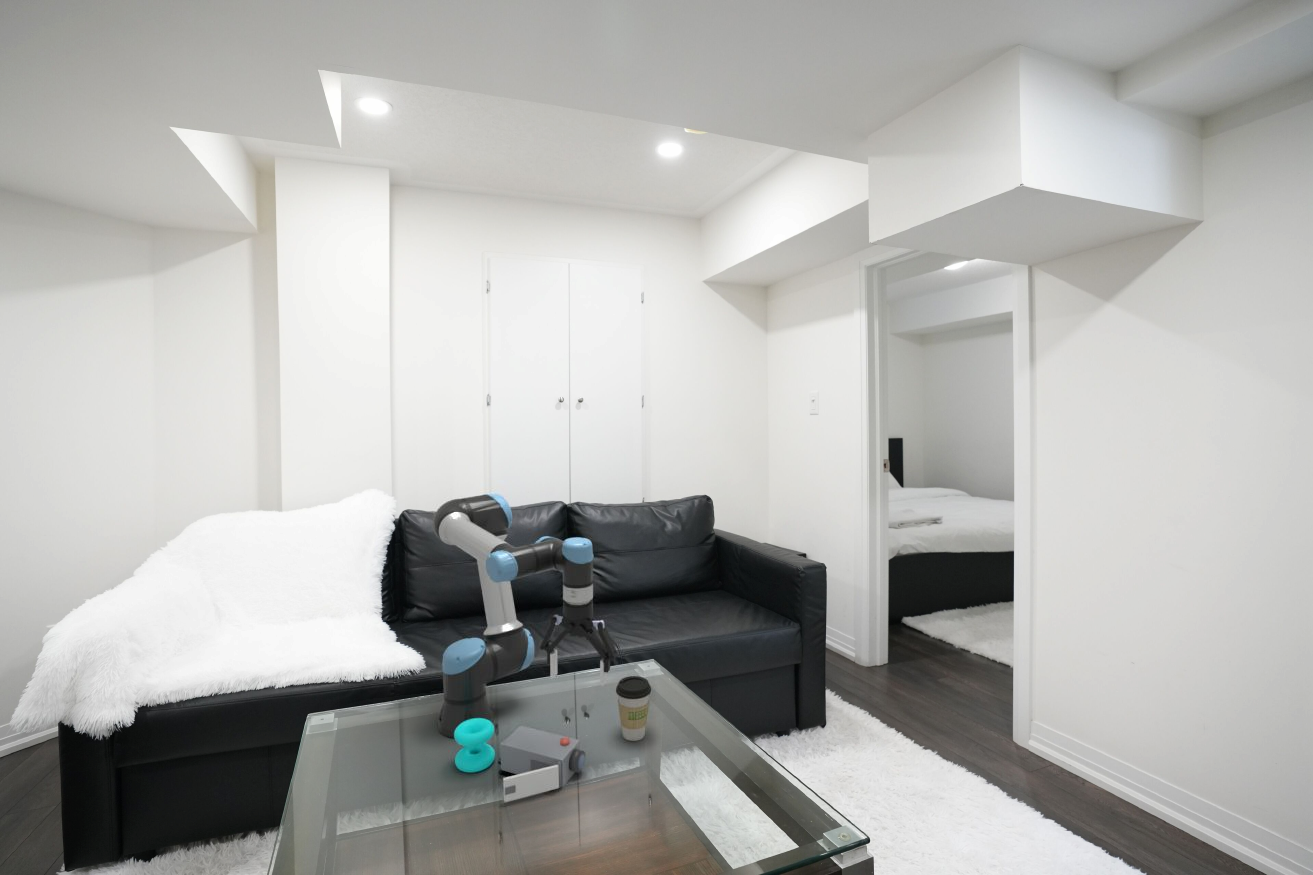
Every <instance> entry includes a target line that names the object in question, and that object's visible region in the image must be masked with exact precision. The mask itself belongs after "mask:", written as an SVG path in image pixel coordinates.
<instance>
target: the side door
mask: <svg viewBox="0 0 1313 875" xmlns="http://www.w3.org/2000/svg"><path fill="white" fill-rule="evenodd" d="M502 780H503V781H502V782H503V784H502V785H503V802H504V803H508V802H512V801H514V800H515V801H516V800H519V799H523V798H526V797H529V796H530V797H531V796H534V795H537V794H542V793H545V792H549V791H553V790H557V789H561V788H562V787H561V761H558V762H557V765H554V766H550V767H546V768H542V769H538V770H534V771H530V772H526V773H522V774H515V775H511V776H507V777H503V778H502Z"/></svg>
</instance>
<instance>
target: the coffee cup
mask: <svg viewBox="0 0 1313 875" xmlns="http://www.w3.org/2000/svg"><path fill="white" fill-rule="evenodd" d="M615 692H616V695H617V703H618V713H619V719H620V725H621V732H622V734H621V735H622V737H623V739H625V740H627V741H630V742H631V741H632V742H634V741H640V740H642V739H644V737H645V734H646V724H647V722H648V716H649V715H648V714H649V713H648V712H649V706H650V694H651V692H652V686H651V685H650V683H649V680H648V679H647V678H645V677H643V676H638V675H629V676H626V677H623V678H620V680H618V683H617V685H616V688H615Z"/></svg>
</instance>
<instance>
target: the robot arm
mask: <svg viewBox="0 0 1313 875" xmlns="http://www.w3.org/2000/svg"><path fill="white" fill-rule="evenodd" d="M512 512H513V511H512V509H511V506H510V505H509V503H508V501H507V499H506V498H504V496H502V495H501V494H497V493H488V494H487V493H486V494H482V495H475V496H469V497H464V498H463V497H462V498H454V499H451V500H448V501H447V502H445V503H443V504H442V505H441V506H439V508H438V509H437V510H436V512H435V513H434V516H433V519H432V530H433V532H434V534H435V536H436V537H437V539H438V540H440V541H441V542H443V543H444V544H446V545H450V546H455V547H457V548H459V549H461V550H462V551H463V552H464V553H467V554H468V555H470V556H471V557H473V558H475V559H476V563H477V568H478V575H479V583H480V586H481V591H482V592H481V594H482V599H483V605H484V612H485V618H486V624H487V627H486V628H485V630H484V632H483V637H484V640H483V639H481V638H480V637H471V638H467V637H466V638H463V639H459V640H458V641H455V642H453V643H451V644H450V645H448V647H447V648H446V649H445V651H444V652H443V655H442V665H441V669H442V682H443V683H442V684H443V685H442V686H443V703H442V706H441V710H440V713H439V716H438V719H437V721H438V722H437V724H438V731H439V732H440V734H442V735H443V736H445V737H448V738H453V739H455V738H454V732H455V729H456V728H457V727H458V726H459V725H460V724H461V723H462V722H464V721H466V720H469V719H474V718H483V719H487V720H489V721H490V722H492V723H494V712H493V711H494V710H493V708H492V706H491V705H490V701H489V698H488V695H487V684H488V683H489V684H490V682H491V683H492V682H493V681H496V680H500V679H502V678H504V677H508V676H510V675H513V674H517V673H519V672H520V671H523V670H525V669H527V668H528V667H530V665H531V664H532V662H533V660H534V657H535V642H534V638H533V636H532V634H531V632H530V630H528V629H527V628H524V625H523V623H522V622H520V621H519V620H518V619H517V614H516V608H515V603H514V596H513V590H512V585H511V582H512V581H513V580H517V579H520V578H524V577H527V576H532V575H535V574H536V575H537V574H539V573H544V572H548V571H552V570H553V571H557V572H560V573H562V600H563V601H562V615H563V616H561V615H560V614H559V613H555V614H554V615H553V616H551V619H550V626H549V628H548V630H547V632H546V634H545V636H544V638H543V639H542V642H541V644H540V646H539V650H541V651H545V652H546V660H547V661H546V663H547V665H550V668H549V669H550V673H549V675H550V676H549V677H550V679H554V678H555V677H556V676H557V675H558V650H557V649H555V648H556V647H557V646H558V645H559V644H560V642H562V641H563V639H564V638H566V637H567V635H568V634H569V635H570V636H571V637H579V638H583V637H584V638H585V639H586V640H587V641H588V642H589V643H590V644H591V645H592V647H593V648H594V649H595V651H596V653H598V655H599V657H601V659H600V661H599V662H600V663H599V667H600V670H599V674H600V677H599V681H600V682H599V684H600V685H599V686H601V687H604V685H605V684H606V682H607V679H608V678H607V677H608V676H607V674H608V673H609V671H610V670H611V660H615V659H616V657H617V655H618V651H617V649H616V647H615V644H614V643H613V639H612V638H611V636H610V633H609V631H608V629H607V625H606V620H605V619H604V618H601V619H600V620H595V619H594V600H593V597H594V584H593V583H594V582H593V581H594V552H593V543H592V541H591V540H590V539H588V538H586V537H580V536H579V537H577V536H576V537H569V538H566V539H564V540H563V539H562V540H561V539H560V538H557V537H554V536H548V535H546V536H542V537H540V538H539V539H538V540H536V541H535V542H534V543H531V544H525V545H521V546H517V547H516V546H514V545H511V544H510V543H508V542H506V541H505V540H506V538H507V537H508V529H509V528H511V527H512V525H513V522H512V521H513V513H512ZM560 624H562V626H563V627H564V628H565V629H564V630H562V631H561V633H560V634H559V635H558V636H557V638H556V639H555V640H553V642H552V643H551V644H550V641H551V640H552V638H553V636H554V634H555V632H556V629H557V628H558V626H559V625H560ZM593 627H594V628H595V629H596V631H597V632H598V635H599V637H598V635H597V634H596V631H595V629H594V628H593Z"/></svg>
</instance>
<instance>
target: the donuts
mask: <svg viewBox="0 0 1313 875" xmlns="http://www.w3.org/2000/svg"><path fill="white" fill-rule="evenodd" d="M494 732H495V726H494V723H493V722H490V721H489V720H487V719H483V718H474V719H469V720H466V721H464V722H462V723H461V724H460V725H459V726H458V727H457V728H456V729H455V732H454V738H453V739H454V740H455V742H456V743H457V744H458V745H460V746H462V748H461V749H460V750H459V751H457V753H456V755H455V756H454V764H455V766H456V768H457V769H458V770H459V771H462V772H464V773H478V772H481V771H483V770H486V769H488V768H489V767H490V766H491V765H492V764H493V762H494V760H495V758H496V751H495V749H494V748H493V747H492V746H491V745H490V744H488V743H487V742H488V741H489V740H491V739H492V737H493V735H494Z"/></svg>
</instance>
